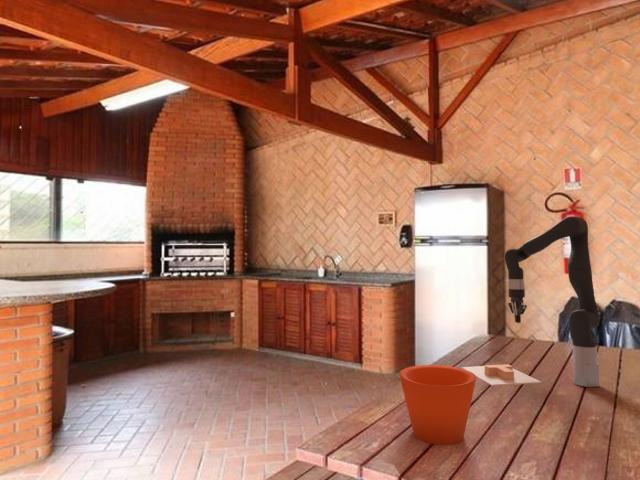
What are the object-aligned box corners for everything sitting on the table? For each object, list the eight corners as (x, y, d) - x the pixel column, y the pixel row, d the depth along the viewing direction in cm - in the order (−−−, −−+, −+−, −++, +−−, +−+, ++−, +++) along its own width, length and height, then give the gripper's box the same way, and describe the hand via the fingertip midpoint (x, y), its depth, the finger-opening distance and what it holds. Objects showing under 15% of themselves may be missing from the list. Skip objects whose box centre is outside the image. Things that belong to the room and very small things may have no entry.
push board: (541, 383, 204) (541, 381, 204) (491, 386, 201) (491, 384, 201) (505, 365, 233) (505, 364, 234) (461, 368, 230) (461, 367, 230)
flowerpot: (421, 414, 168) (420, 361, 168) (489, 431, 152) (487, 372, 152) (386, 437, 149) (385, 377, 149) (459, 459, 133) (458, 391, 133)
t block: (522, 379, 207) (521, 370, 207) (497, 381, 206) (497, 372, 206) (508, 372, 219) (507, 364, 219) (484, 373, 218) (484, 365, 218)
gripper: (531, 288, 222) (532, 324, 221) (515, 286, 235) (517, 320, 234) (517, 289, 221) (518, 324, 220) (502, 287, 234) (503, 321, 233)
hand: (517, 322), depth 227 cm, fingers closed
